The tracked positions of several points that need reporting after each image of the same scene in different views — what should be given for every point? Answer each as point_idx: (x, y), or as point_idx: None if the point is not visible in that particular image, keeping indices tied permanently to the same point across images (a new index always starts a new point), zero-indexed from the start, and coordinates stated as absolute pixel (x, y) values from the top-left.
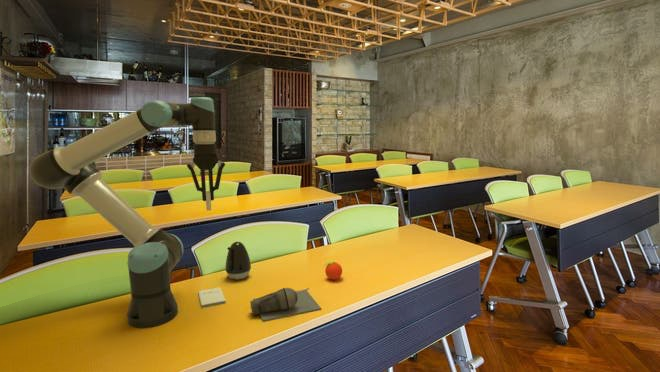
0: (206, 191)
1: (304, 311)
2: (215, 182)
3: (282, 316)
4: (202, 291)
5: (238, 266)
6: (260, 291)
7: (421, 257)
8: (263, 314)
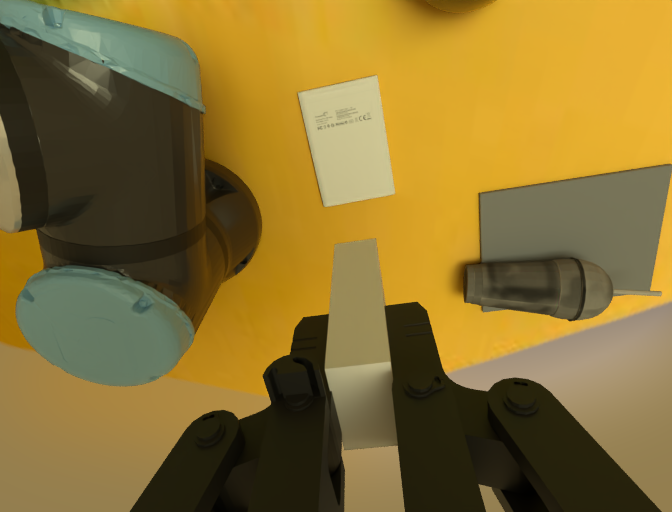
0: (345, 388)
1: None
2: (544, 497)
3: None
4: (313, 101)
5: (469, 8)
6: (516, 130)
7: None
8: None
